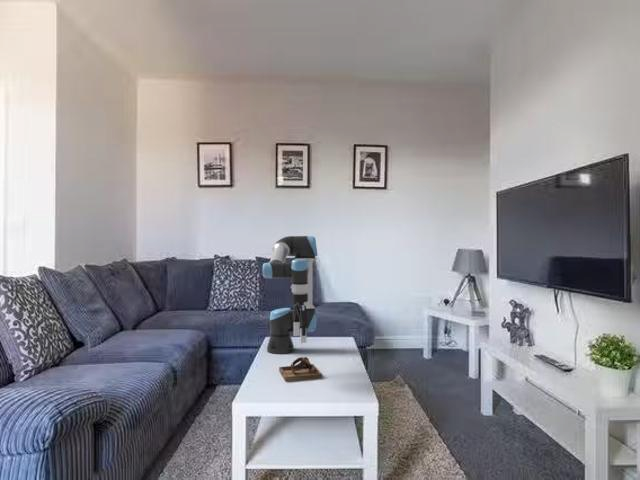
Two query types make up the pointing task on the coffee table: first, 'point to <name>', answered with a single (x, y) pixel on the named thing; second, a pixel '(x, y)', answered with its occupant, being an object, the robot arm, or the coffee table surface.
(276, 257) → the robot arm
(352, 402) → the coffee table surface
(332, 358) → the coffee table surface
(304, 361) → the pottery mug
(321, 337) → the coffee table surface
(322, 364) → the coffee table surface
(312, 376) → the walnut tray
